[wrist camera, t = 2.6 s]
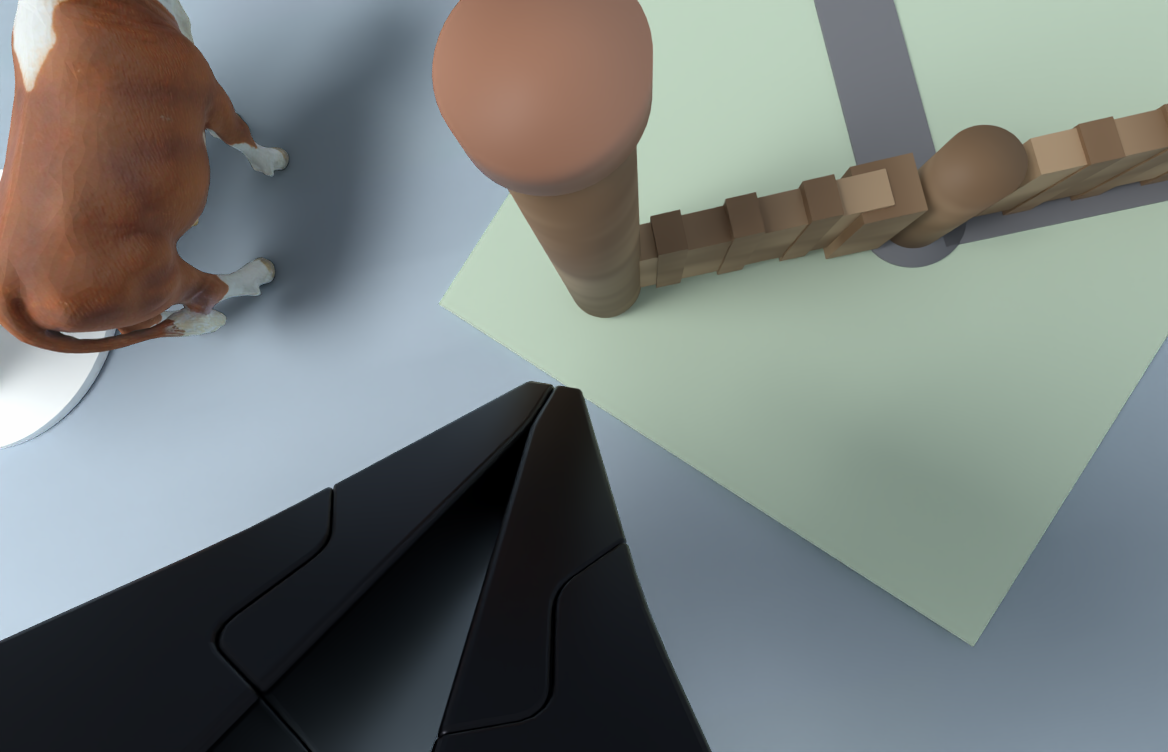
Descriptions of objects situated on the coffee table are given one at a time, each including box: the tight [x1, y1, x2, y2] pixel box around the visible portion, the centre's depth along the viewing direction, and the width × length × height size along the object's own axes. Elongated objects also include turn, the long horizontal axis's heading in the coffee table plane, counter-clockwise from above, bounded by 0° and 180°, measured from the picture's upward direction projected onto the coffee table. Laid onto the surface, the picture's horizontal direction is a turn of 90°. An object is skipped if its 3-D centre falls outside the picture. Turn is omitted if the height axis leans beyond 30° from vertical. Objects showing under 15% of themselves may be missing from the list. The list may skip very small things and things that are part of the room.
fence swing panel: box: [432, 0, 928, 318], centre depth 12 cm, size 10×3×11 cm, turn 101°
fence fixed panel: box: [889, 104, 1168, 248], centre depth 15 cm, size 10×2×4 cm, turn 101°
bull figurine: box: [0, 0, 289, 354], centre depth 16 cm, size 4×13×8 cm, turn 168°
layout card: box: [439, 0, 1168, 647], centre depth 17 cm, size 21×20×1 cm
